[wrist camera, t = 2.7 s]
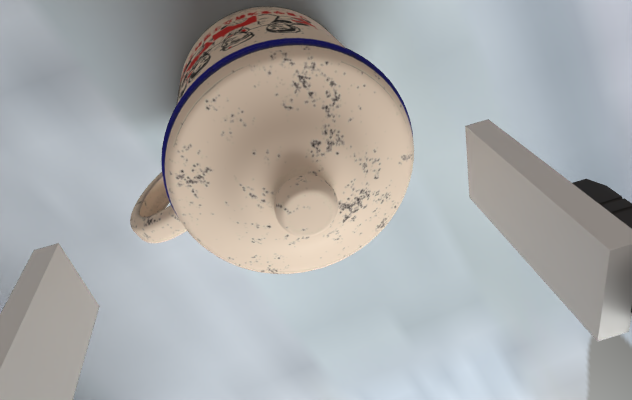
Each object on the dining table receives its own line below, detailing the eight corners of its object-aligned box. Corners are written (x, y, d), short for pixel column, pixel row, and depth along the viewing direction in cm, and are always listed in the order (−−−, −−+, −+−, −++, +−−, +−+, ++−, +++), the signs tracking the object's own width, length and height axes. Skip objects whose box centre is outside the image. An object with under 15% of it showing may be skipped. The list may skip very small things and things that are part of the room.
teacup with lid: (298, -42, 22) (374, -7, 12) (382, 118, 27) (487, 237, 17) (84, 101, 23) (-6, 239, 13) (201, 229, 28) (199, 401, 18)
